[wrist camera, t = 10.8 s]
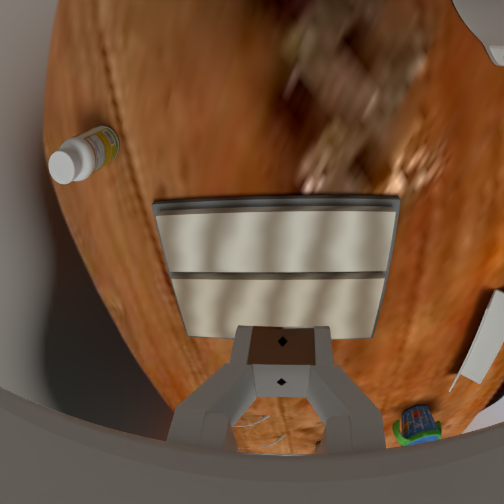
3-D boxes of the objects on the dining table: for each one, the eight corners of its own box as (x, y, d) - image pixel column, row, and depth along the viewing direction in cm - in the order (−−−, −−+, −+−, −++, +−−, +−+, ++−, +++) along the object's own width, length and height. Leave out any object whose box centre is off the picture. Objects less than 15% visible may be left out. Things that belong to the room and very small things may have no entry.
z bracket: (501, 271, 45) (526, 282, 40) (468, 355, 58) (488, 365, 53) (486, 308, 39) (515, 322, 35) (448, 391, 52) (470, 403, 48)
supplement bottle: (85, 157, 38) (43, 183, 30) (90, 121, 35) (45, 140, 27) (116, 167, 38) (77, 196, 30) (123, 130, 35) (81, 151, 27)
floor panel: (398, 196, 36) (404, 204, 34) (371, 333, 50) (374, 344, 48) (154, 201, 41) (147, 209, 38) (188, 332, 54) (185, 342, 52)
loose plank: (382, 271, 41) (384, 278, 40) (369, 330, 48) (370, 337, 47) (174, 272, 45) (171, 278, 44) (190, 329, 52) (188, 335, 50)
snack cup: (446, 403, 62) (454, 435, 54) (420, 422, 68) (425, 453, 60) (408, 397, 60) (416, 433, 52) (380, 417, 66) (385, 451, 58)
